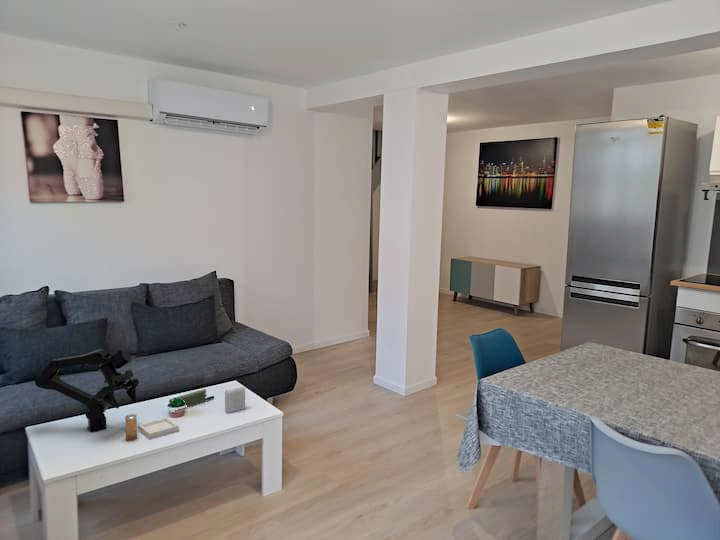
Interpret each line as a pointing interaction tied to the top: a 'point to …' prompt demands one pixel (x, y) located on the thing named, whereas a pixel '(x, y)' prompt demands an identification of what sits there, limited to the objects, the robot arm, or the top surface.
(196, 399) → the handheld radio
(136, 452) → the top surface
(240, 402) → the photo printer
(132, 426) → the battery cell
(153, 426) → the tray
